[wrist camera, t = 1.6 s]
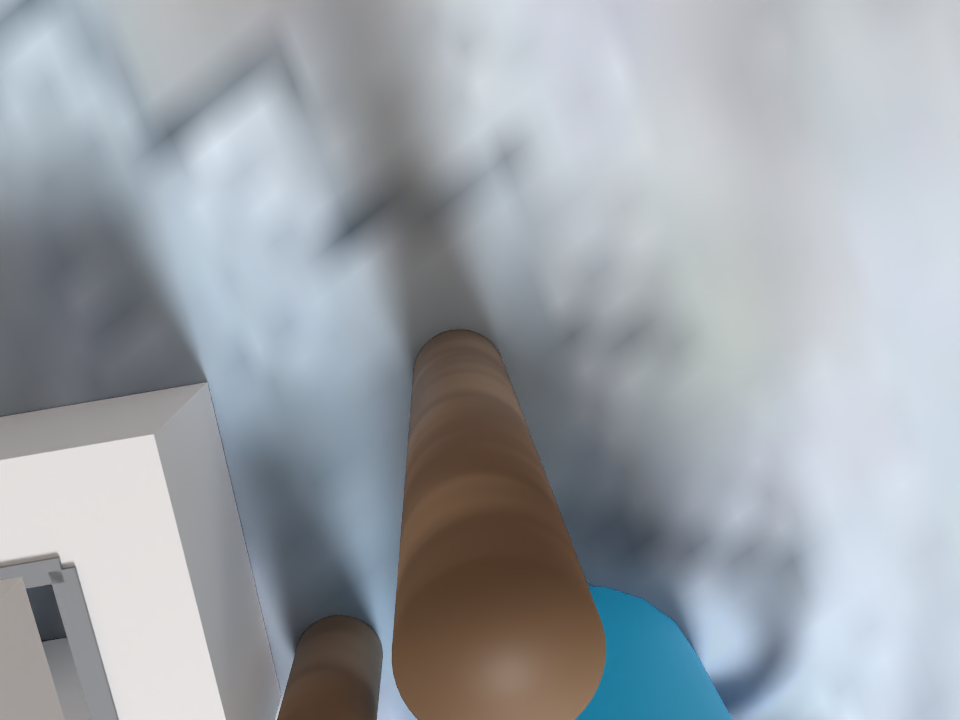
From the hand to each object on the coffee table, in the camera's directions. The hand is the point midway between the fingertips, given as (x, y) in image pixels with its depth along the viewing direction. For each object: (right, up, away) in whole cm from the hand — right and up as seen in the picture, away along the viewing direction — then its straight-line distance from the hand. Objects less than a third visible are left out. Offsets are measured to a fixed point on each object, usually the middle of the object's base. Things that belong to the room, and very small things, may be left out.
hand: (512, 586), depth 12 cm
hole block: (-12, -3, +14) cm, 19 cm away
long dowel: (-1, +3, +13) cm, 14 cm away
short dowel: (-5, -6, +15) cm, 17 cm away
